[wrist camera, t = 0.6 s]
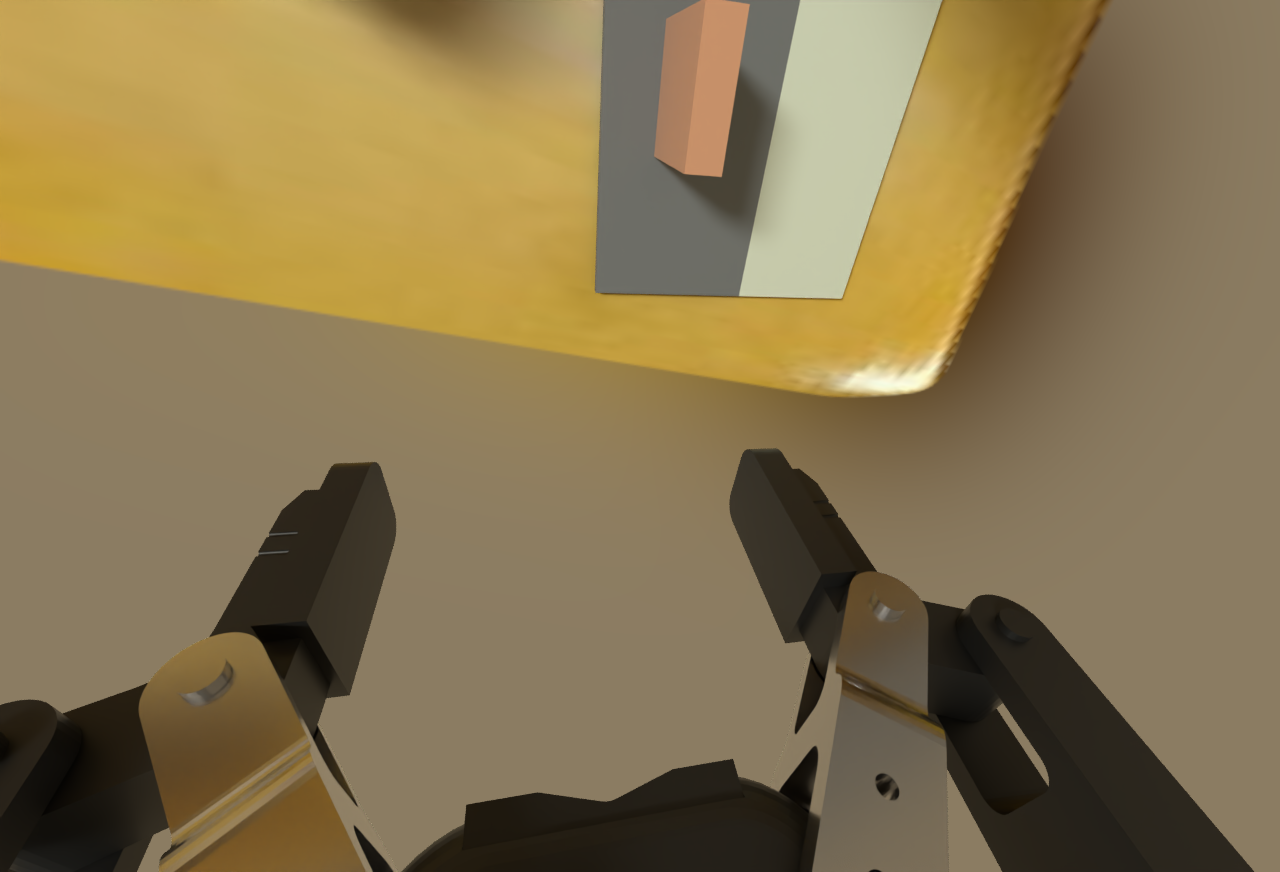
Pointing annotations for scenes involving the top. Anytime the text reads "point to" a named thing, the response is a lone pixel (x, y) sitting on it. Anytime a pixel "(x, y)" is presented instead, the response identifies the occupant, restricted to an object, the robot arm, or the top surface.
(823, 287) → the mat
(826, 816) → the robot arm
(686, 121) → the tile
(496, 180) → the top surface
